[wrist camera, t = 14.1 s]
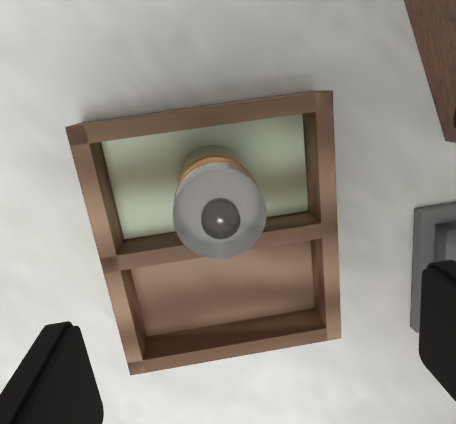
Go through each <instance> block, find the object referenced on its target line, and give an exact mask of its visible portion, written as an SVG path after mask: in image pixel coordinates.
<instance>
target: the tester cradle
mask: <svg viewBox="0 0 456 424" xmlns="http://www.w3.org/2000/svg"><path fill="white" fill-rule="evenodd" d="M445 260H454V261H456V202H455V203H449V204H443V205H436V206H430V207H424V208H417V209H414V235H413V262H412V290H411V318H410V326H411V328H412V329H413V330H414V331H415V332H419V331H420V305H421V279H422V272H423V270H424V269H427V266H428V264H430V263H433V262H439V261H445Z"/></svg>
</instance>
